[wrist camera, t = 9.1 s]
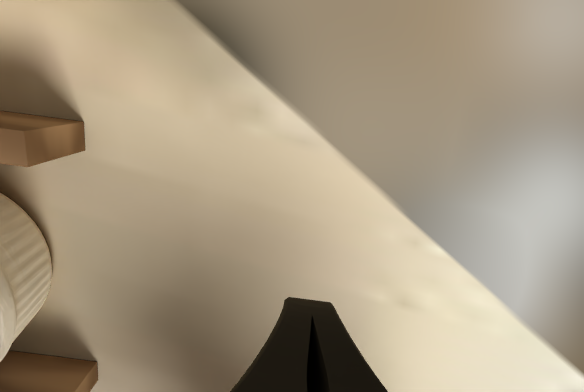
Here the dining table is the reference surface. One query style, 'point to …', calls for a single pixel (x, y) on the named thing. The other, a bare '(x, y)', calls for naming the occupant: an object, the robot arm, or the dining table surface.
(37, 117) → the shallow wooden tray
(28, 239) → the ramekin
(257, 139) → the dining table surface
